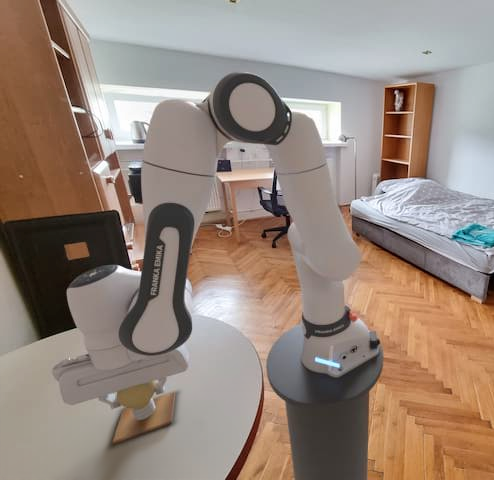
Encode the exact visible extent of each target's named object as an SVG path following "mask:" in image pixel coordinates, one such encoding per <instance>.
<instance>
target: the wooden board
mask: <svg viewBox="0 0 494 480" xmlns="http://www.w3.org/2000/svg"><path fill="white" fill-rule="evenodd" d="M175 400H176V392H175V391H173V392H171V393H167V394H165V395H161V396H158V397H156V398H153V401H154V404H155V411H154V412H153V413H152V414H151V415H150V416H149V417H147V418H145V419H143V420H137V419H135V417H134V415H133V412H132V410H131V408H126V407H124V408H122V410H121V413H120V416H119V419H118V422H117V426H116V429H115V432H114V436H113V439H112V444H117V443H120V442H122V441H125V440H127V439H130V438H131V439H132V438H133V437H137V436H139V435H141V434H145V433H147V432H151V431H153V430H155V429H159V428H161V427H164V426H167V425H169V424H172V423H173V417H174V408H175Z"/></svg>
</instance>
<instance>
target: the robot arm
mask: <svg viewBox="0 0 494 480" xmlns="http://www.w3.org/2000/svg"><path fill="white" fill-rule="evenodd" d="M319 132H320V131H319V129H318V127H317V125H316V122H315V120H314V119H313V117H312V116H311V115H310V114H309V113H307V112H306V111H303V110H299V109H291V108H290V107H289V106H288V105H287V103H286V102H285V101H284V99H283V98H281V96H280V95H279V93H278V92H277V90H276V89H275V88H274V86H273V85H272V84H271V83H270V82H269V81H267V80H266V79H265V78H263V77H262V76H261V75H258V74H256V73H253V72H250V71H243V70H242V71H241V70H240V71H233V72H230V73H228V74H227V75H225V76H224V77H222V78H220V79H219V80H218V81H217V82H216V83H215V84H214V85H213V87H212V88H211V91H210V93H209V94H208V95H207V96H206V97H205V98H204V100H203V101H202V102H200V103H199V102H192V101H189V100H185V99H180V98H179V99H177V98H174V99H173V98H172V99H165V100H163V101H161V102H159V103H158V104H157V105H156V106H155V107H154V110H153V112H152V115H151V118H150V121H149V124H148V128H147V132H146V135H145V139H144V144H143V148H142V149H143V150H142V160H141V166H140V167H141V169H140V186H141V199H142V209H143V223H144V225H143V226H144V247H143V248H144V249H143V257H142V265H141V271H140V270H133V269H129V268H126V267H123V266H121V265H118V264H107V265H102V266H99V267H94V268H92V269H90V270H87V271H86V272H83V273H82V274H80V275H79V276H77V277H75V279H73V280H72V282H71V283H70V284H69V285H68V287H67V289H66V297H67V298H66V299H67V305H68V308H69V311H70V314H71V317H72V320H73V323H74V324H75V326H76V329H78V330H79V331H80V332H81V333H82V335H83V344H84V345H83V346H84V347H85V349H86V350H85V351H86V352H87V353H86V354H81V355H78V356H76V357H72V358H65V359H62V360H60V361H59V363H57V364H55V365H54V366H53V367H52V369H51V373H52V376H53V378H54V380H55V381H56V382H58V386H59V393H60V395H61V398H62V402H63V403H64V404H66V405H68V406H69V405H70V406H74V405H78V404H81V403H85V402H88V401H91V400H95V399H98V401H99V402H101V403H105V404H107V405H109V407H110V409H111V410H114V409H117V408H121V407H122V405H121V404H120V403H119V402H118V400H117V395H115V393H117V392H118V391H121V390H125V389H128V388H131V387H134V386H138V385H141V384H145V383H148V382H151V381H155V383H156V381H158V382H157V383H156V387H155V392H154V393H155V395H156V396H157V395H162V394H165V393H166V385H165V384H166V382H167V379H168V377H171V376H174V375H178V374H182V373H184V372H186V371H187V370H188V369H189V365H190V354H189V351H188V349H187V345H186V344H185V343H186V342H187V341H188V340H189V339H190V336H191V335H192V332H193V317H192V311H193V293H194V292H193V291H194V289H193V285H192V282H191V280H189V278H188V272H189V271H188V270H189V264H190V257H191V251H192V248H193V245H194V241H195V239H196V236H197V233H198V231H199V228H200V226H201V223H202V221H203V219H204V216H205V214H206V211H207V208H208V207H209V204H210V201H211V198H212V194H213V192H214V187H215V183H216V176H217V170H218V163H219V162H218V161H219V158H220V155H221V152H222V150H223V148H224V147H225V146H226V145H227V144H229V143H231V142H237V143H242V144H255V145H264V147H265V148H266V149H267V151H268V153H269V155H270V157H271V159H272V163H273V167H274V170H275V174H276V178H277V182H278V185H279V188H280V191H281V195H282V198H283V202H284V206H285V208H286V210H287V212H288V214H289V216H290V218H291V220H292V222H291V224H290V226H289V227H288V229H287V240H288V243H289V245H290V249H291V253H292V257H293V261H294V265H295V270H296V271H295V272H296V274H297V278H298V282H299V286H300V292H301V293H300V294H301V301H302V302H301V303H302V312H301V323H302V330H303V334H304V341H303V348H302V351H301V361H302V363H303V364H304V366H305V367H306V368H308V369H309V370H311V371H314V372H318V373H325V374H328V375H330V376H332V377H335V378H338V377H340V376H342V375H344V374H345V373H347V372H349V371H350V370H352V369H354V368H356V367H357V366H359V365H361V364H362V363H364V362H366V361H368V360H369V359H371V358H373V357H374V356H376V355H378V354H379V344H381V340H380V339H379V338H378V336H377V331H376V330H370V329H369V328H368V327H367V325H366V324H365V322H364V321H363V320H362V319H361V318H359V317H358V315H357V314H356V312H354V311H352V309H351V308H350V306H348V305H347V304H345V284H344V281H346V280H348V279H350V278H351V277H352V276H353V275H354V274H355V273H356V272H357V270H358V269H359V267H360V264H361V260H362V258H361V257H362V254H361V250H360V248H359V246H358V245H357V243H356V242H355V241H354V239H353V237H352V235H351V233H350V231H349V228H348V226H347V224H346V221H345V219H344V216H343V214H342V211H341V210H340V207H339V205H338V202H337V199H336V196H335V193H334V188H333V184H332V179H331V175H330V169H329V165H328V159H327V155H326V151H325V148H324V144H323V141H322V137H321V135H320V133H319ZM368 329H369V330H370V331H369V330H368ZM377 338H378V339H377ZM340 370H341V371H340Z"/></svg>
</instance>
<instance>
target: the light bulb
mask: <svg viewBox="0 0 494 480" xmlns="http://www.w3.org/2000/svg"><path fill="white" fill-rule="evenodd" d="M155 387H156V380H155V381H151V382H148V383H145V384H141V385H138V386H134V387H131V388H128V389H125V390H121V391H118V392H116V396H117V400H118V402H119V403H120V404H121V407H124V408H131V410H132V412H133V415H134V417H135V419H137V420H143V419H145V418H147V417H149V416H150V415H151V414H152V413H153V412H154V411H155V404H154V401H153V399H154V398H153V396H154V395H155V393H156V392H155Z"/></svg>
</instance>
